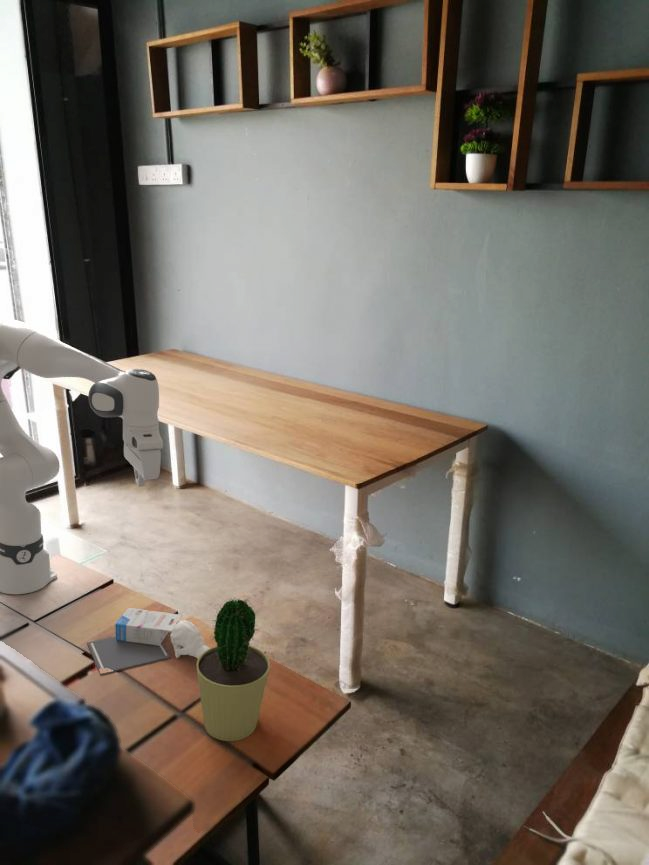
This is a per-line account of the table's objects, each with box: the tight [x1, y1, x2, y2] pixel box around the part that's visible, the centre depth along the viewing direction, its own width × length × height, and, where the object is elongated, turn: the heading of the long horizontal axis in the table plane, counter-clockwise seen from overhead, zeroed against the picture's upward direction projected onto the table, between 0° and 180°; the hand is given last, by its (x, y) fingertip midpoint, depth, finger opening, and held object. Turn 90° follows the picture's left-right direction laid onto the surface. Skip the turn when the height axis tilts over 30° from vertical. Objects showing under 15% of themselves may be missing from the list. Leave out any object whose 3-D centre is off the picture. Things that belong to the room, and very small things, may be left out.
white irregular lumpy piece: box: [169, 619, 211, 659], centre depth 170 cm, size 6×8×12 cm
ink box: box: [114, 607, 183, 646], centre depth 177 cm, size 8×5×15 cm
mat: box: [86, 635, 172, 673], centre depth 172 cm, size 14×17×1 cm
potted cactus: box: [196, 597, 271, 742], centre depth 145 cm, size 15×15×30 cm
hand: (140, 484), depth 179 cm, fingers closed
